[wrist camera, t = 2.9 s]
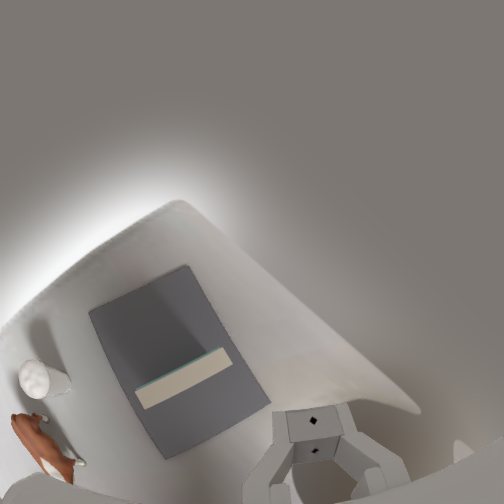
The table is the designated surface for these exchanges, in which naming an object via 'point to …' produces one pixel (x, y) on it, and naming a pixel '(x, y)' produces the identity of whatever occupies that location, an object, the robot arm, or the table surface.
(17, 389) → the table surface
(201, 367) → the tile
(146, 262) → the table surface
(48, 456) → the bull figurine
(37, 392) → the milkshake
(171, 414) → the mat
